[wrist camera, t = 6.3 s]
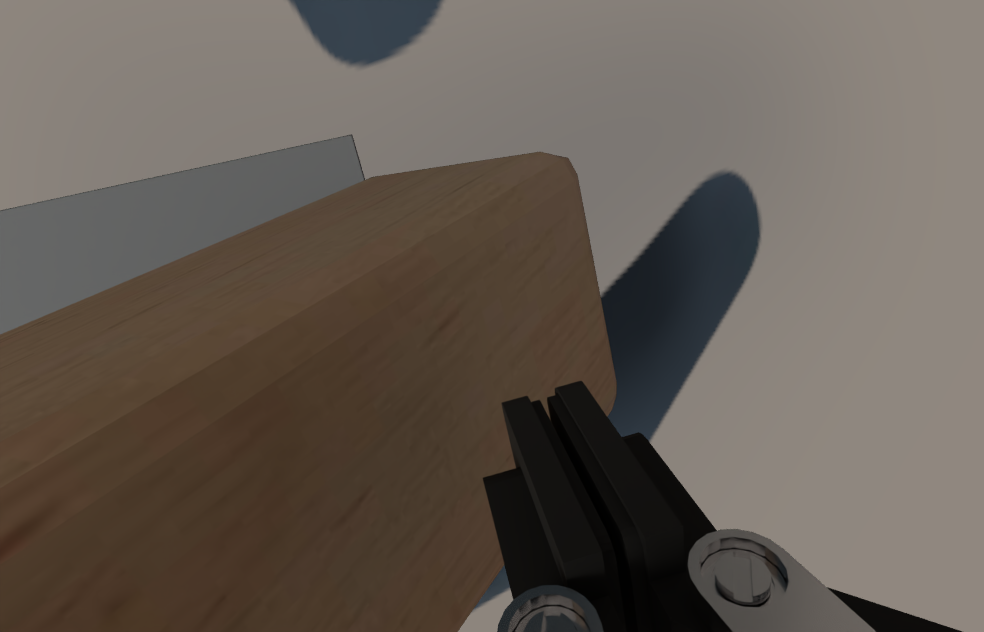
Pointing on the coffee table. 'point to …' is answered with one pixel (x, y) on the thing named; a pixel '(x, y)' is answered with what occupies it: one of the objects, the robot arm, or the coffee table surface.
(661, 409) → the coffee table surface
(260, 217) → the rubber mat
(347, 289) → the block
